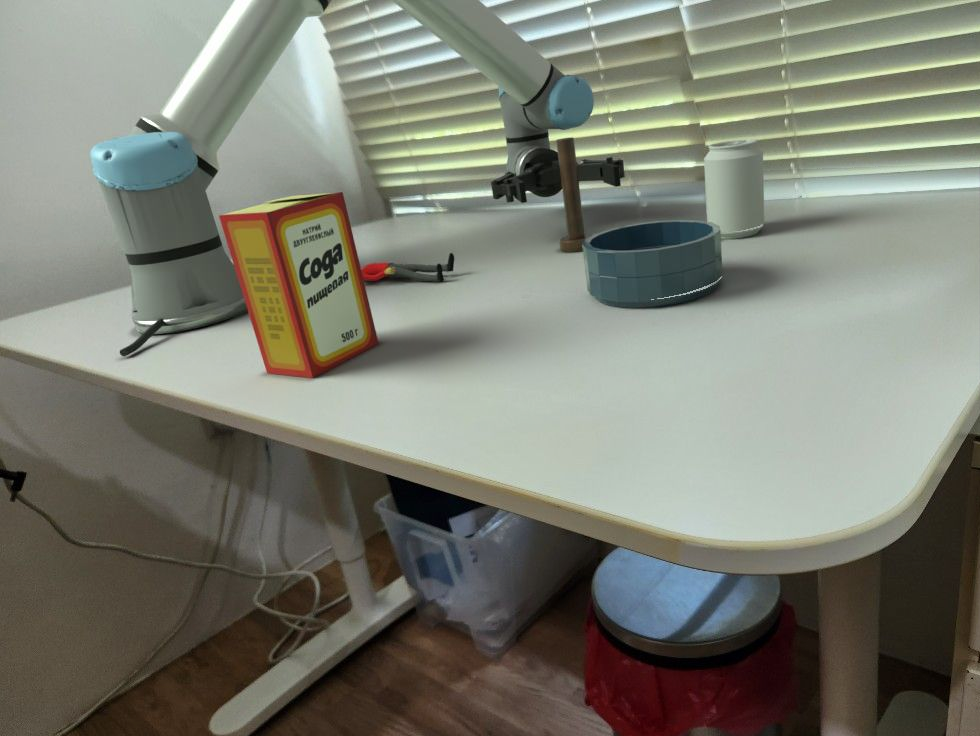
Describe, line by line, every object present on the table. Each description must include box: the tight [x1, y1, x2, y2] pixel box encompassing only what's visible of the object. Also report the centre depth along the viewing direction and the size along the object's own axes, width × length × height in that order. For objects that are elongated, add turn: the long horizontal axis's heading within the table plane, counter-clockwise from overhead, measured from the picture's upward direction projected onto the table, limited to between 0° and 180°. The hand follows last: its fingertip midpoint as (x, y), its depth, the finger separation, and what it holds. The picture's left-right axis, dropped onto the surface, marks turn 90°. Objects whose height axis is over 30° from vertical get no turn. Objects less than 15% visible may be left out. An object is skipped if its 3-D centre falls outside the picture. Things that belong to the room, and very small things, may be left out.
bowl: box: [582, 219, 724, 309], centre depth 82 cm, size 15×15×6 cm
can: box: [703, 138, 765, 240], centre depth 100 cm, size 8×8×12 cm
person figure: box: [361, 252, 455, 283], centre depth 104 cm, size 5×4×18 cm
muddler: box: [555, 136, 594, 253], centre depth 105 cm, size 5×5×15 cm
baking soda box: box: [218, 191, 380, 379], centre depth 73 cm, size 10×6×16 cm
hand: (570, 184), depth 104 cm, fingers open, 13 cm apart
